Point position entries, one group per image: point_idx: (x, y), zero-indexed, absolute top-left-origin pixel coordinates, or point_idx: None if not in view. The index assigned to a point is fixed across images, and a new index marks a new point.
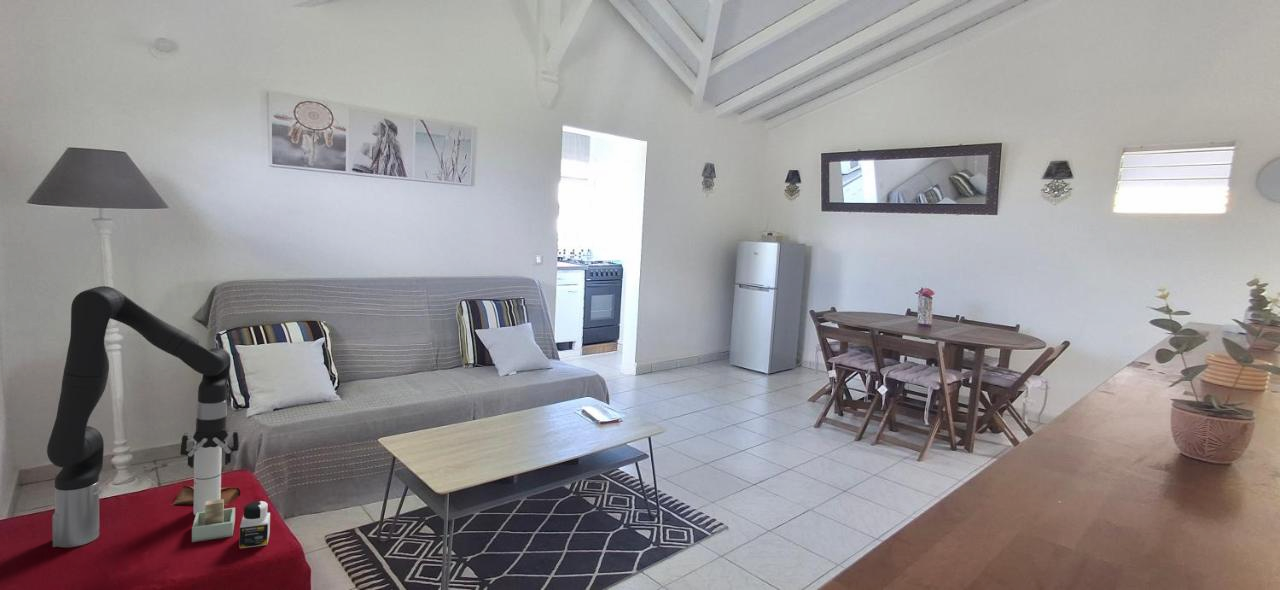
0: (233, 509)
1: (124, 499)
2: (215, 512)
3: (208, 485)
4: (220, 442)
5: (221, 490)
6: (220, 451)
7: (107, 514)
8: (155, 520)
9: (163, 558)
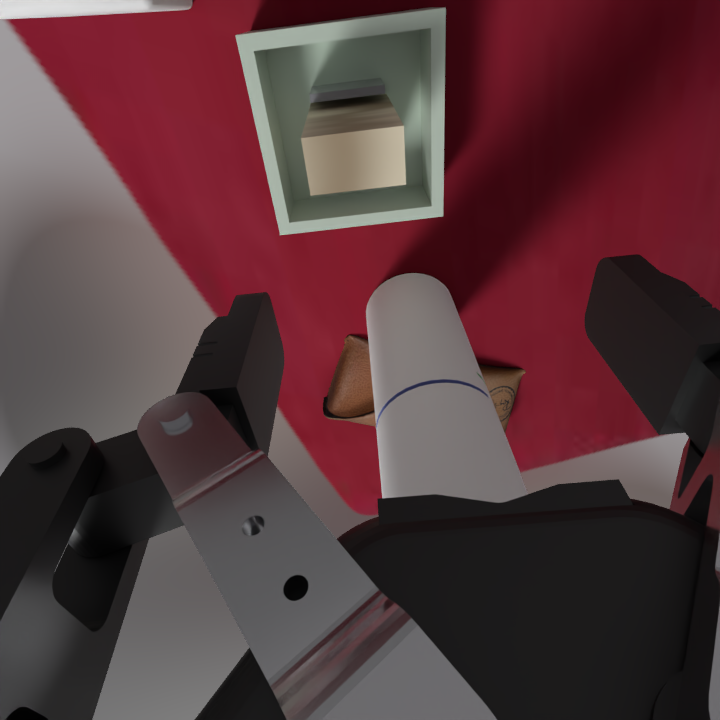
0: (282, 213)
1: (645, 421)
2: (343, 118)
3: (419, 357)
4: (272, 614)
5: None
6: None
7: None
8: (573, 273)
9: None
